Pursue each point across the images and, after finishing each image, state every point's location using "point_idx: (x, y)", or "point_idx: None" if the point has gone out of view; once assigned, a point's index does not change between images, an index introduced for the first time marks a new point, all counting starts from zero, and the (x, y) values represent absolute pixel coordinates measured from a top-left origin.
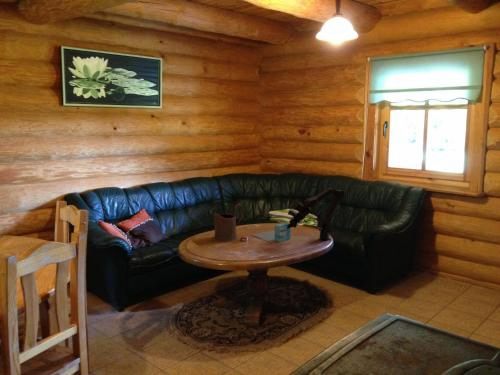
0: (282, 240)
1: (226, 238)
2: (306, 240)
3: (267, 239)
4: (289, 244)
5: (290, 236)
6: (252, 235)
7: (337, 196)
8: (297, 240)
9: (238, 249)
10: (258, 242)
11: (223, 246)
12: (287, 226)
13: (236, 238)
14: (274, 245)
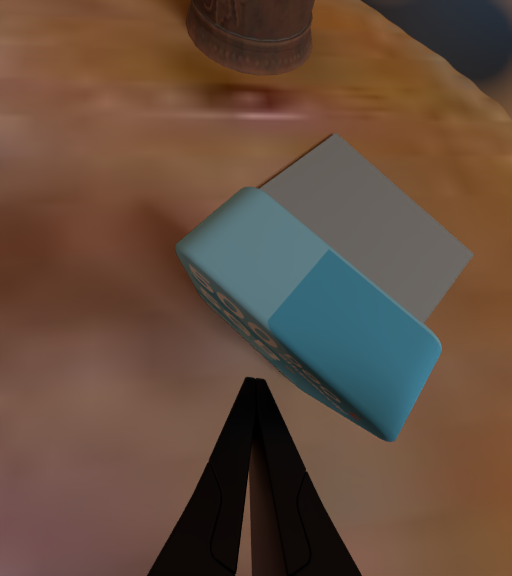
0: (231, 326)
1: (192, 4)
2: None
3: None
4: (147, 395)
5: None
6: (330, 138)
7: None
8: None
9: (41, 72)
10: (192, 170)
11: (108, 17)
12: (235, 400)
13: (242, 62)
14: (120, 272)
